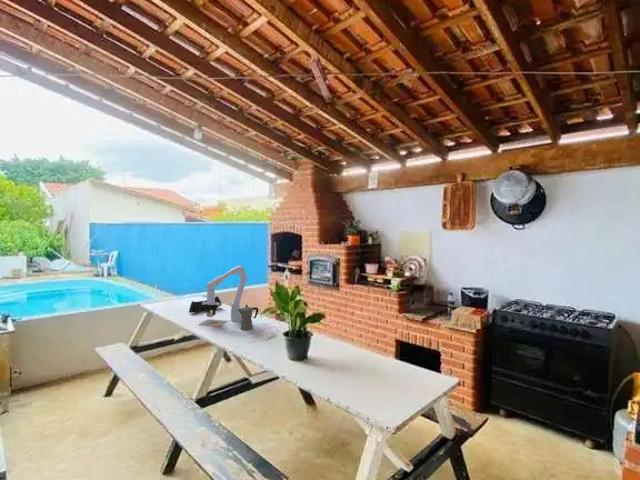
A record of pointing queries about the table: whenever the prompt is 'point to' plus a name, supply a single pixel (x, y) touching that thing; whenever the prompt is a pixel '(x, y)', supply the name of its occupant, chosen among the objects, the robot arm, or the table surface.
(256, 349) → the table surface
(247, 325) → the coffeepot
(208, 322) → the mat
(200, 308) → the black tray
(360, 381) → the table surface
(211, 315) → the card box
